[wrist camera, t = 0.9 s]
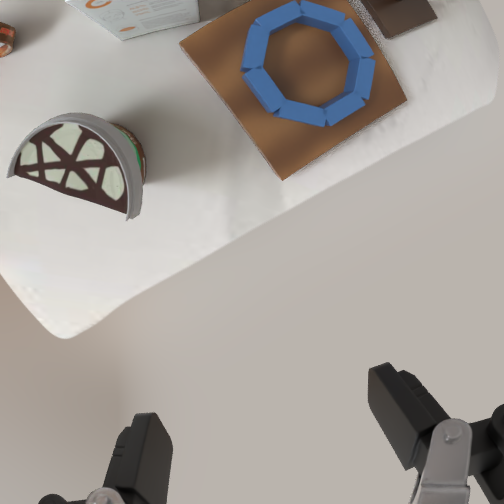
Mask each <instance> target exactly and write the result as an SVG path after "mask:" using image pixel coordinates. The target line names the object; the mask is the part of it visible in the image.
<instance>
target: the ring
mask: <svg viewBox="0 0 504 504" xmlns="http://www.w3.org/2000/svg"><path fill="white" fill-rule="evenodd" d="M344 19H345V13H342V12H339V11H336V10H334V9H331V8H328V7H324V6H321V5H318V4H315V3H311V2H308V1H305V0H301V1H300V2H299V3H297V2H296V1H295V0H294V1H291V2H289V3H287V4H285V5H283V6H281V7H278V8H276V9H274V10H272V11H270V12H268V13H266V14H264V15H262V16H260V17H258V18H256V19H255V21H254V23H253V24H251V26H250V28H249V30H248V34H247V38H246V43H245V48H244V53H243V58H242V62H241V67H240V71H242V72H246V73H245V74H244V75H243V76H242V79H243V80H244V81H245V83H246V84H247V85H248V87H249V88H250V89H251V91H252V92H253V94H254V95H255V96H256V98H257V99H258V100H259V102H260V103H261V105H262V106H263V107H264V109H265V110H266V112H267V113H273V112H274V115H273V117H277V118H282V119H287V120H292V121H296V122H301V123H305V124H309V125H314V126H319V127H324V126H325V125H327V126H332V125H334V124H335V123H337V122H338V121H340V120H342V119H343V118H345V117H347V116H348V115H350V114H351V113H353V112H355V111H356V110H358V109H360V108H361V107H363V106H365V103H364V101H363V100H369V96H370V91H371V85H372V80H373V74H374V68H375V62H376V61H375V60H373V59H371V58H369V57H371V56H373V55H374V53H373V51H372V49H371V48H370V46H369V45H368V43H367V41H366V40H365V38H364V37H363V35H362V34H361V32H360V31H359V29H358V28H357V26H356V25H355V23H354V22H353V20H352V19H351V18H349V19H347V20H344ZM295 22H296V23H300V24H304V25H307V26H311V27H314V28H318V29H321V30H324V31H327V32H330V33H331V35H332V36H333V37H334V39H335V40H336V42H337V43H338V45H339V46H340V48H341V49H342V51H343V52H344V54H345V55H346V57H347V58H348V60H349V65H348V71H347V76H346V82H345V87H344V92H343V93H341V94H339V95H338V96H336V97H334V98H332V99H331V100H329V101H327V102H326V103H324V104H322V105H321V106H319V107H316V106H312V105H308V104H304V103H300V102H296V101H291V100H287V99H286V98H285V97H284V96H283V94H282V93H281V91H280V90H279V88H278V87H277V86H276V84H275V83H274V81H273V80H272V79H271V77H270V76H269V75H268V73H267V72H266V71H265V69H264V68H263V64H264V59H265V54H266V49H267V44H268V39H269V36H270V35H272V34H274V33H275V32H277V31H279V30H281V29H283V28H285V27H287V26H289V25H291V24H293V23H295Z"/></svg>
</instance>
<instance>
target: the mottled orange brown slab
mask: <svg viewBox="0 0 504 504" xmlns="http://www.w3.org/2000/svg"><path fill="white" fill-rule="evenodd" d="M15 33H16V30H15V28H14V27H12V26H10V25H8V24H5V23H2V22H0V58H1V57H3V56H6V55H8V54H9V53H10V52H11V51H12V49H13V47H12V46H13V42H14V38H15Z"/></svg>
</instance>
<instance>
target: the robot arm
mask: <svg viewBox="0 0 504 504" xmlns="http://www.w3.org/2000/svg"><path fill="white" fill-rule="evenodd" d="M368 403H369V406H370V409H371V411H372V413H373V415H374V416H375V418H376V420H377V421H378V423H379V425H380V427H381V428H382V430H383V432H384V434H385V435H386V437H387V439H388V441H389V442H390V444H391V446H392V447H393V449H394V451H395V453H396V454H397V456H398V458H399V460H400V462H401V463H402V465H403V467H404V469H405V470H408V469H410V468H413V467H415V468H416V469H417V471H418V474H417V477H416V481H415V484H414V488H413V491H412V494H411V497H410V500H409V503H408V504H468V502H469V496H470V486H467V478H468V476H471V475H474V477H475V479H476V480H477V482H478V484H479V485H480V487H481V489H482V490H483V492H484V494H485V496H486V497H487V499H488V501H489V503H490V504H504V404H503V405H500V406H499V407H497V408H496V409H495V411H494V412H493V414H492V417H491V418H488V419H485V420H481V421H478V422H474V423H467V422H465V421H463V420H461V419H455V418H454V419H451V418H450V417H449V416H448V415H447V413H446V412H445V411H444V410H443V408H442V407H441V406H440V405H439V404H438V402H437V401H436V400H435V399H434V398H433V396H432V395H431V394H430V393H428V391H427V389H426V388H425V387H424V386H422V384H421V382H420V381H419V380H418V379H417V378H416V377H415V375H413V374H411V373H409V372H407V371H405V370H402V371H400V372H397V371H396V370H395V369H394V367H393V366H392V365H391V364H390V363H389V362H386V363H384V364H381V365H378V366H375V367H373V368H370V369H369V372H368ZM172 454H173V445H172V441H171V438H170V436H169V435H168V433H167V431H166V429H165V428H164V426H163V424H162V422H161V421H160V419H159V417H158V415H157V414H156V413H139V414H136V415H135V416H134V419H133V422H132V425H131V427H125V429H124V430H123V431H122V432H121V434H120V435H119V436H118V439H117V442H116V445H115V448H114V451H113V454H112V455H113V457H112V458H111V461H110V464H109V467H108V471H107V474H106V477H105V481H104V484H103V487H102V488H99V489H96V490H95V491H93V492H91V493H90V494H89V496H88V497H87V499H86V500H79V501H71V502H67V501H66V500H64V499H63V498H62V497H61V496H59V495H57V494H49V495H47V496H44V497H43V498H42V499H41V500H40V501H39V503H38V504H166V502H167V493H168V485H169V477H170V476H169V475H170V469H171V461H172Z"/></svg>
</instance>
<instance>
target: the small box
mask: <svg viewBox="0 0 504 504" xmlns="http://www.w3.org/2000/svg"><path fill="white" fill-rule="evenodd" d="M65 2H66V3H68V4H69V5H71V6H73V7H74V8H76V9H77V10H79V11H80V12H82V13H83V14H85V15H86V16H88V17H89V18H90V19H92V20H94V21H95V22H97V23H98V24H99V25H101V26H102V27H103V28H105V29H106V30H108V31H109V32H111V33H112V34H113V35H115V36H116V37H118V38H119V39H120V40H126V39H129V38H133V37H136V36H140V35H143V34H147V33H151V32H155V31H159V30H163V29H168V28H172V27H177V26H182V25H187V24H192V23H197V22H200V15H199V6H198V0H65Z"/></svg>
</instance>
